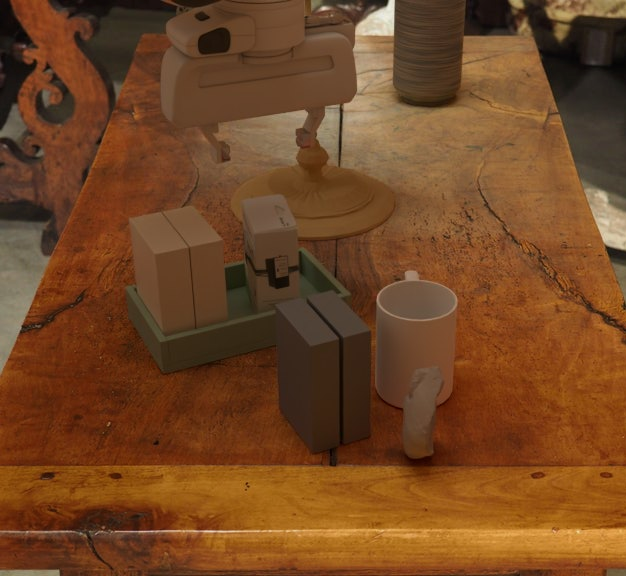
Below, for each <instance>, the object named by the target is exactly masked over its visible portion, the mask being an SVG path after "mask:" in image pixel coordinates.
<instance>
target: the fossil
mask: <svg viewBox="0 0 626 576" xmlns="http://www.w3.org/2000/svg"><path fill="white" fill-rule="evenodd" d="M443 386H444V378H443V376H442V372H441V370H440V368H439V367H437V366H433V367H427V368H423V369H416V370H415V371H414V373H413V376H412V378H411V381H410V385H409V395H407V396H406V397H404V401H403V408H402V413H403V420H402V427H401V441H402V446H403V452H404V453H405V455H406V456H407V457H408V458H409V459H412V460H419V459H422V458H425V457H431V456H433V455H434V454H435V451H434V434H435V430H436V426H437V406H436V405H437V397H438V396H439V394H440V392H441V391H442V388H443Z"/></svg>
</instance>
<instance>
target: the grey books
mask: <svg viewBox="0 0 626 576" xmlns="http://www.w3.org/2000/svg"><path fill="white" fill-rule="evenodd" d="M306 301H307V302H306ZM306 301H305V300H304V299H303V298H299V299H295V300H291V301H286V302H282V303H278V304H275V318H276V343H277V345H276V365H277V366H276V367H277V393H278V410H279V411H280V412H281V413H282V415H283V417H285V419H286V420H287V422H288V423H289V424H290V426H291V427H292V428H293V430H294V431H295V432H296V434H297V435H298V437H299V438H300V440H302V442H303V443H304V445H305V446H306V448H307V449H308V450H309V451H310V453H311V454H312V455H316V454H319V453H322V452H325V451H329V450H332V449H335V448H338V447H340V446H341V443H342V444H343V446H344V445H348V444H351V443H354V442H358V441H361V440H364V439H368V438H371V399H372V397H371V394H372V393H371V389H372V328H370V327H369V326H368V325H367V324H366V323H365V322H364V321H363V320H362V318H361V317H359V315H358V314H357V313H356V312H355V311H354V310H353V309H352V307H351V308H350V307H349V306H348V305H347V304H346V303H345V302H344V301H343V300H342V299H341V298H340V297H339V296H338V295H337V294H336V293H335V292H334V291H333V290H331V291H327V292H323V293H319V294H315V295H311V296H307V297H306Z"/></svg>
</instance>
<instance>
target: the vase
mask: <svg viewBox="0 0 626 576" xmlns="http://www.w3.org/2000/svg"><path fill="white" fill-rule="evenodd" d="M466 2H467V0H394V8H393V9H394V11H393V13H394V14H393V47H392V49H393V52H392V54H393V56H392V57H393V59H392V85H393V87H394V89H395V91H396V92H397V93H398V94H399V96H400V98H401V100H402V101H403V102H405V103H407V104H410V105H414V106H419V107H436V106H437V107H438V106H442V105H445V104H447V103H449V102H450V101H451V100H452V98H453V97H454V96H455V95H457V93H458V92H459V91H460V89H461V86H462V76H463V75H462V74H463V55H464V38H465V37H464V36H465V24H466V23H465V22H466V4H467V3H466Z"/></svg>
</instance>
